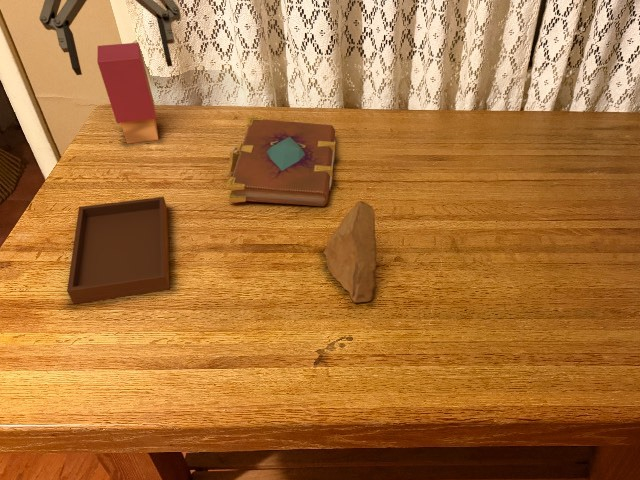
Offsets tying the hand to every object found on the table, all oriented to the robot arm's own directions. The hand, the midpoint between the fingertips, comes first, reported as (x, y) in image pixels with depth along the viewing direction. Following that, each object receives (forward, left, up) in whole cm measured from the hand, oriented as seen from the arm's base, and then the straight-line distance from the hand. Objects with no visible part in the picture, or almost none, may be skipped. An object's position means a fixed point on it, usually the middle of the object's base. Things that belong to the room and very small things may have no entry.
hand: (124, 67), depth 93 cm
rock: (+44, -25, -11) cm, 52 cm away
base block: (0, -1, -11) cm, 11 cm away
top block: (0, -1, -7) cm, 7 cm away
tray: (+14, -29, -11) cm, 34 cm away
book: (+26, -2, -11) cm, 29 cm away
